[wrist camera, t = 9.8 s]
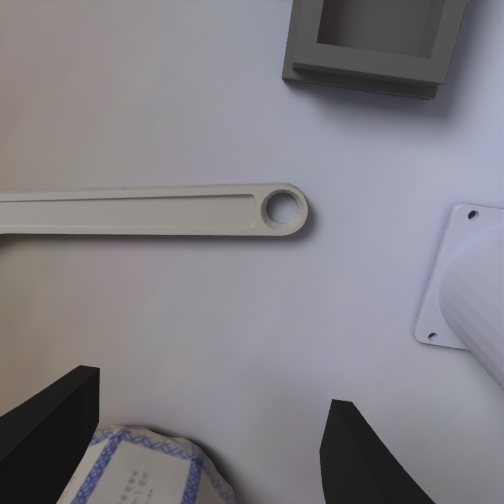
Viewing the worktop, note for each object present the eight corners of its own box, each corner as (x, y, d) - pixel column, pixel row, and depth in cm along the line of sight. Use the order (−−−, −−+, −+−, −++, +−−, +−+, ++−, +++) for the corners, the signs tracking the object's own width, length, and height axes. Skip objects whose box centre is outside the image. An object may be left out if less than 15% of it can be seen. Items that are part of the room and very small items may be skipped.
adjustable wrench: (308, 179, 20) (311, 184, 18) (297, 289, 22) (298, 303, 20) (-140, 150, 21) (-177, 152, 19) (-112, 258, 23) (-142, 268, 21)
